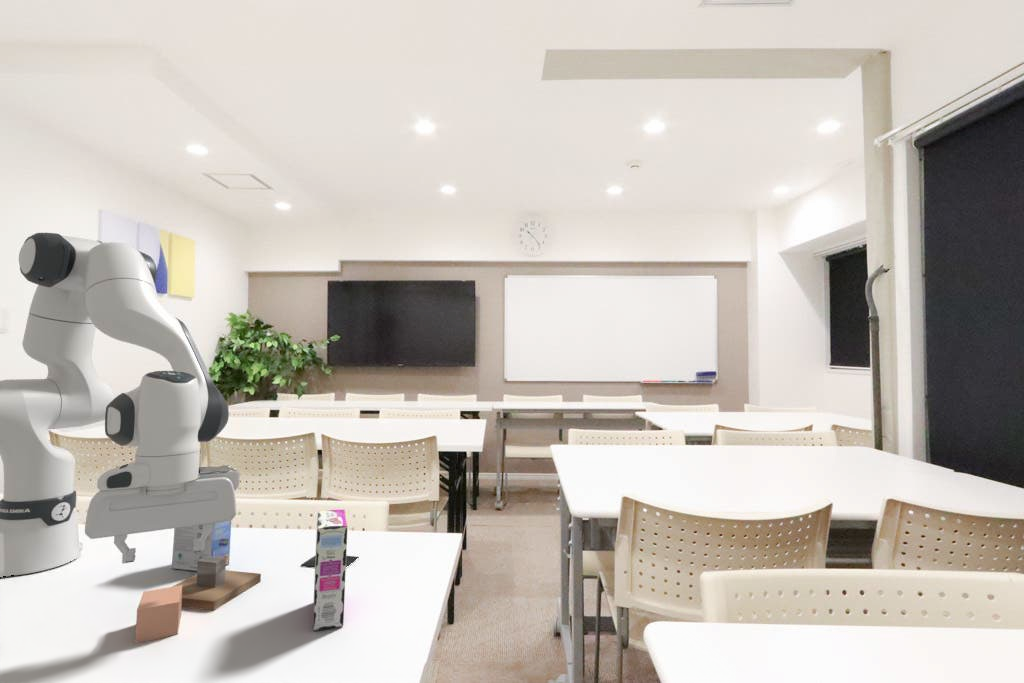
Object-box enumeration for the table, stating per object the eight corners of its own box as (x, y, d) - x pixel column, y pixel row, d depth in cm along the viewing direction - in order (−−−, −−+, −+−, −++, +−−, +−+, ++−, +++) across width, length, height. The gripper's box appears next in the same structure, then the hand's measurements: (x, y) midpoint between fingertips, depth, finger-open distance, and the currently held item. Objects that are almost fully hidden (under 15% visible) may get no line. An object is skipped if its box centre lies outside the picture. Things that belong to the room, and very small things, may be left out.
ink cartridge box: (231, 563, 108) (234, 495, 109) (211, 574, 103) (214, 501, 103) (192, 559, 110) (195, 492, 111) (170, 569, 105) (173, 498, 105)
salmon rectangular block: (135, 643, 77) (137, 609, 77) (142, 622, 83) (143, 591, 83) (177, 634, 80) (178, 601, 80) (181, 615, 86) (182, 585, 86)
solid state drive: (343, 572, 105) (343, 569, 105) (300, 568, 107) (300, 565, 107) (359, 559, 112) (359, 556, 112) (318, 556, 114) (318, 553, 114)
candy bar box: (345, 627, 82) (348, 525, 83) (312, 632, 81) (316, 528, 81) (342, 597, 93) (345, 507, 94) (313, 601, 91) (316, 510, 92)
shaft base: (214, 610, 87) (215, 575, 88) (155, 603, 90) (156, 569, 90) (260, 581, 99) (261, 550, 100) (207, 576, 101) (208, 545, 102)
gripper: (239, 461, 90) (237, 539, 90) (93, 473, 80) (89, 561, 80) (240, 467, 85) (237, 550, 84) (84, 480, 75) (79, 575, 74)
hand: (164, 556), depth 82 cm, fingers open, 8 cm apart
